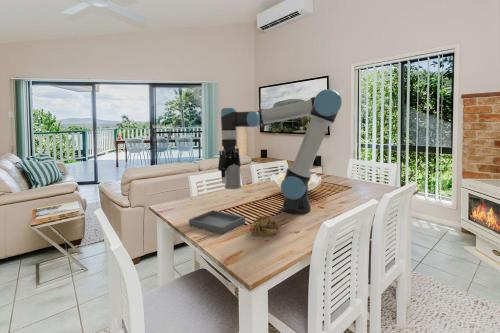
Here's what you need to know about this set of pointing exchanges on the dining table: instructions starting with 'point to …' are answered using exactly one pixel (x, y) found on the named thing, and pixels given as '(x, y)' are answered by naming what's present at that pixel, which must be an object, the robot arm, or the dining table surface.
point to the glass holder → (233, 173)
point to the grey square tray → (217, 221)
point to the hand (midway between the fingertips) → (230, 181)
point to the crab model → (263, 223)
